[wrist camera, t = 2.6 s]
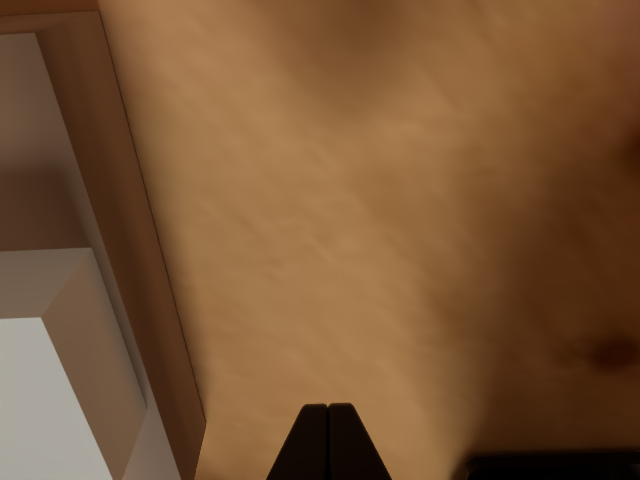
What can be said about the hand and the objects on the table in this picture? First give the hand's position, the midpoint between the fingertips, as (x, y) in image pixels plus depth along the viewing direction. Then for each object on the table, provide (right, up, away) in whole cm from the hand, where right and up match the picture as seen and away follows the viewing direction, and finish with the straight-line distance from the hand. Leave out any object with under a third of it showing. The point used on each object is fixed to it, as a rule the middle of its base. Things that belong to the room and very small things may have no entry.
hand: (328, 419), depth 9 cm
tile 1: (-7, +1, +2) cm, 7 cm away
